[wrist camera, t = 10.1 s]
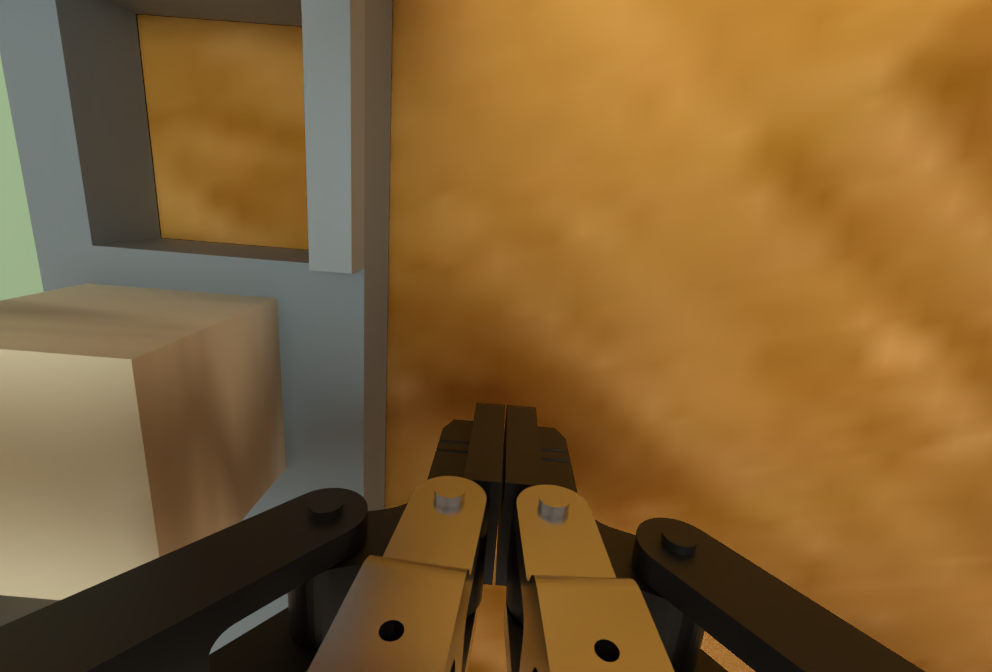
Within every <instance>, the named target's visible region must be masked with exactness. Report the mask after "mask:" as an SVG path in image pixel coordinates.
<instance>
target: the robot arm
mask: <svg viewBox="0 0 992 672" xmlns="http://www.w3.org/2000/svg"><path fill="white" fill-rule="evenodd" d="M504 412H505V405H499V404H488V403H477V404H476V409H475V415H474V421H465V420H453V421H452V422H450V423H449V424H448V425H447V426H445V427H444V428H443V430H442V433H441V436H440V441H439V443H438V446H437V451H436V453H435V456H434V460H433V463H432V466H431V469H430V473H429V476H428V479H427V480H426V481H424V482H422V483H421V484H419V485H418V486H417V487H416V488H415V490H414V491H413V493H412V495H411V497H410V500H409V502H408V503H407V504H404V505H402V506H398V507H394V508H389V509H382V510H374V511H368V505H367V502H366V500H365V499H364V497H363V496H361V495H360V494H359V493H357V492H355V491H352V490H349V489H344V488H324V489H318V490H314V491H311V492H308V493H306V494H303V495H301V496H299V497H296V498H294V499H292V500H289V501H287V502H285V503H282V504H280V505H278V506H276V507H273V508H271V509H269V510H266V511H264V512H262V513H260V514H257V515H255V516H253V517H250V518H248V519H246V520H243V521H241V522H239V523H237V524H234V525H232V526H230V527H227V528H225V529H223V530H221V531H218V532H216V533H214V534H211V535H209V536H207V537H204V538H202V539H200V540H198V541H195V542H193V543H191V544H188V545H186V546H184V547H181V548H179V549H177V550H175V551H172V552H170V553H168V554H165V555H163V556H161V557H159V558H156V559H154V560H152V561H149V562H147V563H145V564H142V565H140V566H138V567H136V568H133V569H131V570H129V571H126V572H124V573H122V574H120V575H117V576H115V577H113V578H110V579H108V580H106V581H103V582H101V583H99V584H97V585H94V586H92V587H90V588H87V589H85V590H83V591H80V592H78V593H76V594H74V595H71V596H69V597H67V598H64V599H62V600H60V601H58V602H55V603H53V604H51V605H48V606H46V607H44V608H41V609H39V610H37V611H35V612H32V613H30V614H28V615H25V616H23V617H21V618H19V619H16V620H14V621H12V622H9V623H7V624H5V625H2V626H0V672H467V669H468V664H469V658H470V652H471V647H472V641H473V636H474V630H475V624H476V616H477V608H478V606H479V604H480V602H481V598H482V588H483V584H490V585H492V581H493V570H494V559H495V549H496V538H497V528H498V539H497V562H496V584H495V585H503V586H507V590H506V606H505V615H504V631H505V646H506V661H507V672H728V671H727V670H725V669H724V668H723V667H722V666H721V665H719V664H718V663H717V662H716V661H715V660H713V659H712V658H711V657H710V656H709V655H707V654H706V653H705V652H704V651H703V650H701V649H700V647H701V643H702V639H703V635H704V631H706V632H707V633H708V634H710V635H711V636H712V637H713V638H715V639H716V640H717V641H718V642H720V643H721V644H722V645H723V646H725V647H726V648H727V649H728V650H730V651H731V652H732V653H733V654H735V655H736V656H737V657H738V658H740V659H741V660H742V661H743V662H745V663H746V664H747V665H748V666H750V667H751V668H752V669H753V670H755V671H756V672H925V671H923V670H922V669H920V668H918V667H917V666H915V665H914V664H912V663H911V662H909V661H907V660H906V659H904V658H903V657H901V656H899V655H898V654H896V653H895V652H893V651H891V650H890V649H888V648H887V647H885V646H884V645H882V644H880V643H879V642H877V641H876V640H874V639H872V638H871V637H869V636H868V635H866V634H865V633H863V632H861V631H860V630H858V629H857V628H855V627H853V626H852V625H850V624H849V623H847V622H846V621H844V620H842V619H841V618H839V617H838V616H836V615H834V614H833V613H831V612H830V611H828V610H827V609H825V608H823V607H822V606H820V605H819V604H817V603H815V602H814V601H812V600H811V599H809V598H808V597H806V596H804V595H803V594H801V593H800V592H798V591H796V590H795V589H793V588H792V587H790V586H788V585H787V584H785V583H784V582H782V581H781V580H779V579H777V578H776V577H774V576H773V575H771V574H769V573H768V572H766V571H765V570H763V569H762V568H760V567H758V566H757V565H755V564H754V563H752V562H750V561H749V560H747V559H746V558H744V557H743V556H741V555H739V554H738V553H736V552H735V551H733V550H731V549H730V548H728V547H727V546H725V545H724V544H722V543H720V542H719V541H717V540H716V539H714V538H712V537H711V536H709V535H708V534H706V533H705V532H703V531H701V530H700V529H698V528H696V527H694V526H692V525H690V524H688V523H685V522H682V521H679V520H675V519H669V518H653V519H649V520H646V521H644V522H643V523H641V524H640V525H639V527H638V529H637V532H636V535H633V534H630V533H627V532H623V531H620V530H617V529H614V528H611V527H608V526H606V525H604V524H602V523H600V522H598V521H597V520H595V519H594V516H593V514H592V511H591V508H590V506H589V504H588V503H587V501H586V500H585V499H584V498H583V497H582V496H580V495H579V494H577V489H576V484H575V480H574V475H573V471H572V466H571V463H570V457H569V453H568V448H567V444H566V439H565V438H564V437H563V436H562V435H561V434H560V433H559V432H558V431H557V430H556V429H555V428H546V427H538V426H537V417H536V408H534V407H523V406H512V405H507V410H506V420H505V431H504ZM503 438H504V442H503ZM287 593H288V607H287V608H285V609H284V610H282V611H281V612H279V613H277V614H276V615H274V616H272V617H271V618H269V619H267V620H266V621H264V622H262V623H261V624H259V625H257V626H256V627H254V628H252V629H251V630H249V631H248V632H246V633H244V634H243V635H241V636H239V637H238V638H236V639H234V640H233V641H231V642H229V643H228V644H226V645H224V646H223V647H221V648H219V649H218V650H216V651H215V652H213V653H211V654H210V655H209V653H210V651H211V648H212V647H213V645H214V643H215V642H216V640H217V639H218V638H219V637H220V636H221V634H222V633H223V632H225V631H226V630H227V629H228V628H229V627H231V626H232V625H234V624H235V623H237V622H239V621H240V620H242V619H244V618H246V617H247V616H249V615H251V614H252V613H254V612H256V611H258V610H259V609H261V608H263V607H264V606H266V605H268V604H270V603H271V602H273V601H275V600H276V599H278V598H280V597H282V596H283V595H285V594H287Z"/></svg>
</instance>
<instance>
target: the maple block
mask: <svg viewBox="0 0 992 672" xmlns="http://www.w3.org/2000/svg"><path fill="white" fill-rule="evenodd" d="M285 469H286V455H285V436H284V417H283V399H282V380H281V361H280V343H279V324H278V306H277V298H270V297H257V296H244V295H231V294H219V293H206V292H193V291H180V290H167V289H154V288H142V287H129V286H116V285H103V284H90V283H87V284H81V285H76V286H71V287H66V288H61V289H56V290H51V291H46V292H41V293H36V294H31V295H26V296H21V297H16V298H11V299H6V300H1V301H0V595H5V596H16V597H28V598H40V599H51V600H62V599H64V598H67V597H69V596H71V595H74V594H76V593H78V592H80V591H83V590H85V589H87V588H90V587H92V586H94V585H97V584H99V583H101V582H103V581H106V580H108V579H110V578H113V577H115V576H117V575H120V574H122V573H124V572H126V571H129V570H131V569H133V568H136V567H138V566H140V565H142V564H145V563H147V562H149V561H152V560H154V559H156V558H159V557H161V556H163V555H165V554H168V553H170V552H172V551H175V550H177V549H179V548H181V547H184V546H186V545H188V544H191V543H193V542H195V541H198V540H200V539H202V538H204V537H207V536H209V535H211V534H214V533H216V532H218V531H221V530H223V529H225V528H227V527H230V526H232V525H234V524H237V523H239V522H241V521H242V520H243V519H244V517H245V516H246V515H247V514H248V513H249V511H250V510H251V509H252V508H253V507H254V506H255V504H256V503H257V502H258V501H259V500H260V498H261V497H262V496H263V495H264V494H265V492H266V491H267V490H268V489H269V488H270V487H271V485H272V484H273V483H274V482H275V481H276V479H277V478H278V477H279V476H280V475H281V473H282V472H283V471H284V470H285Z"/></svg>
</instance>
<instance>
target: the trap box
mask: <svg viewBox="0 0 992 672" xmlns="http://www.w3.org/2000/svg"><path fill="white" fill-rule="evenodd" d="M392 5H393V0H0V301H1V300H6V299H11V298H16V297H21V296H26V295H31V294H36V293H41V292H46V291H51V290H56V289H61V288H66V287H71V286H76V285H81V284H87V283H90V284H103V285H116V286H129V287H142V288H154V289H167V290H180V291H193V292H206V293H219V294H231V295H244V296H257V297H270V298H277V306H278V324H279V343H280V361H281V380H282V399H283V417H284V436H285V455H286V469H285V470H284V471H283V472H282V473H281V475H280V476H279V477H278V478H277V479H276V481H275V482H274V483H273V484H272V485H271V487H270V488H269V489H268V490H267V491H266V492H265V494H264V495H263V496H262V497H261V498H260V500H259V501H258V502H257V503H256V504H255V506H254V507H253V508H252V509H251V510H250V511H249V513H248V514H247V515H246V516H245V517H244V519H243V520H246V519H248V518H250V517H253V516H255V515H257V514H260V513H262V512H264V511H266V510H269V509H271V508H273V507H276V506H278V505H280V504H282V503H285V502H287V501H289V500H292V499H294V498H296V497H299V496H301V495H303V494H306V493H308V492H311V491H314V490H318V489H324V488H344V489H349V490H352V491H355V492H357V493H359V494H360V495H361V496H363V497H364V499H365V500H366V502H367V505H368V511H374V510H382V509H385V447H386V384H387V321H388V258H389V194H390V131H391V68H392ZM136 14H146V15H159V16H172V17H185V18H198V19H211V20H224V21H237V22H250V23H263V24H276V25H289V26H302V41H303V75H304V109H305V143H306V177H307V211H308V245H309V250H302V249H290V248H277V247H265V246H253V245H241V244H229V243H216V242H204V241H192V240H180V239H167V238H161V236H160V227H159V218H158V209H157V200H156V191H155V182H154V173H153V164H152V155H151V146H150V137H149V129H148V120H147V111H146V102H145V93H144V84H143V75H142V66H141V57H140V48H139V39H138V30H137V21H136ZM243 520H242V521H243ZM58 601H60V600H51V599H40V598H28V597H16V596H5V595H0V626H2V625H5V624H7V623H9V622H12V621H14V620H16V619H19V618H21V617H23V616H25V615H28V614H30V613H32V612H35V611H37V610H39V609H41V608H44V607H46V606H48V605H51V604H53V603H55V602H58ZM287 607H288V593H287V594H285V595H283V596H282V597H280V598H278V599H276V600H275V601H273V602H271V603H270V604H268V605H266V606H264V607H263V608H261V609H259V610H258V611H256V612H254V613H252V614H251V615H249V616H247V617H246V618H244V619H242V620H240V621H239V622H237V623H235V624H234V625H232V626H231V627H229V628H228V629H227V630H226V631H225V632H223V633H222V634H221V636H220V637H219V638H218V639H217V640H216V642H215V643H214V645H213V647H212V648H211V651H210V653H209V655H210V654H211V653H213V652H215V651H216V650H218V649H219V648H221V647H223V646H224V645H226V644H228V643H229V642H231V641H233V640H234V639H236V638H238V637H239V636H241V635H243V634H244V633H246V632H248V631H249V630H251V629H252V628H254V627H256V626H257V625H259V624H261V623H262V622H264V621H266V620H267V619H269V618H271V617H272V616H274V615H276V614H277V613H279V612H281V611H282V610H284V609H285V608H287Z"/></svg>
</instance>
